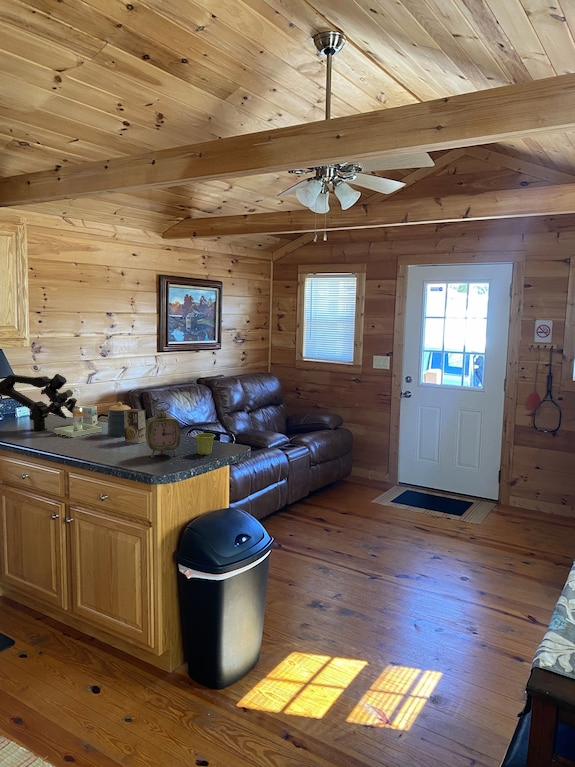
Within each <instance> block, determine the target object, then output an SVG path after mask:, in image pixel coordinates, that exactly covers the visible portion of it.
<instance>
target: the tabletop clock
mask: <svg viewBox="0 0 575 767" xmlns="http://www.w3.org/2000/svg"><path fill="white" fill-rule="evenodd" d="M160 404H161V405H162V404H166V405H168V408H165V409H164V407H161V408H160V409H158V408H157V406H158V405H160ZM169 409H171V405H170V403H168V402H166V401H158V402H157V403H155V405H154V410H156V411H157V412H158V413H156V416H153V417H149V418H148V419H146V431H145V434H146V441H145V442H146V443H147V446H148V447H149V449H150V450H152V454H150V458H152V459H153V458H154V457H155V455H154V454H155V451H156V452H157V451H158V452H159V451H160V452H159V454H160V455H161V456H162V455H164V451H169V450H172V452H173V456H175V457H176V456H178V452H177V451H176V450H175V449H177V448H179V445H180V443H181V427H180V422H179V420H178V419H177V418H175V417H174V416H171V415H170V416H169V415H168V413H167V412H166V411H168V410H169Z"/></svg>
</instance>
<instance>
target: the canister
mask: <svg viewBox="0 0 575 767" xmlns="http://www.w3.org/2000/svg"><path fill="white" fill-rule="evenodd" d="M129 409H132V408H131V407H130V406H129V405H127V404H123V403H122V402H121V401H118V402H117V403H116V405H115V404H114V405H111V406H110V407H109V408H108V412H106V414H107V420H106V421H107V435H108V437H109V436H110V437H112V436H113V438H118V437H119V438H121V437H123V438H125V425H124V411H125V410H129Z"/></svg>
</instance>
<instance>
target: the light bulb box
mask: <svg viewBox="0 0 575 767" xmlns="http://www.w3.org/2000/svg"><path fill="white" fill-rule="evenodd" d="M79 406H80V407H82V408H83V424H89V425H94V426H97V425H98V408H97V407H98V406H96V405H95V406H94V405H92V406H91V405H79ZM96 424H97V425H96Z"/></svg>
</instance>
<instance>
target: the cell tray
mask: <svg viewBox="0 0 575 767" xmlns="http://www.w3.org/2000/svg"><path fill="white" fill-rule="evenodd" d="M83 428H87V430H81V431H76V432H73V424H72V425H68V426H60V427H56V428H54V434H55V433H56V434H55V435H58V434H61V435H60V436H62V435H66V436H70V437H75V438H77V437H76V436H80V437H82V436H81V435H85V434H90V433H96V432H101V433H102V430H103V428H102V426H97V425H89V424H83ZM96 434H97V433H96ZM90 435H91V434H90ZM66 436H65V437H66ZM85 436H86V435H85ZM70 437H69V438H70Z"/></svg>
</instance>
